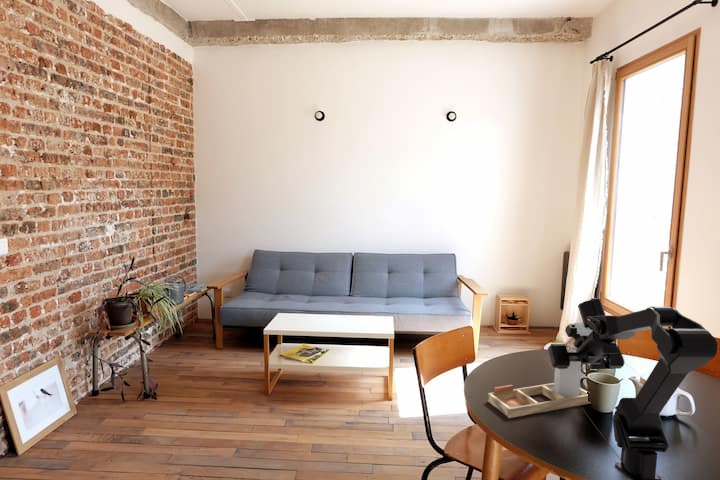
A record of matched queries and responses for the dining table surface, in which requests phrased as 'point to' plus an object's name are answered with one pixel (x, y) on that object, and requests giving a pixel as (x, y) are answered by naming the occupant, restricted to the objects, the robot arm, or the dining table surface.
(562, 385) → the pale grey upright block
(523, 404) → the organiser
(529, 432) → the dining table surface
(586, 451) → the dining table surface
